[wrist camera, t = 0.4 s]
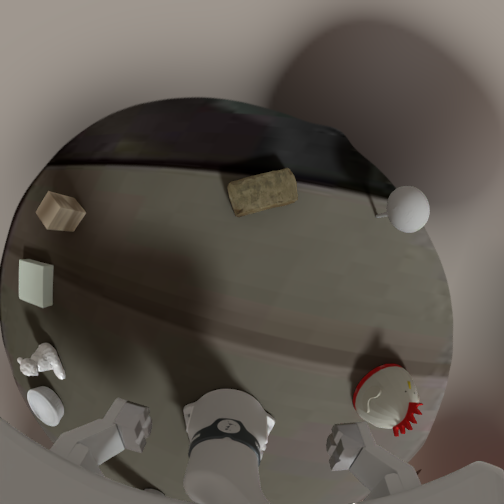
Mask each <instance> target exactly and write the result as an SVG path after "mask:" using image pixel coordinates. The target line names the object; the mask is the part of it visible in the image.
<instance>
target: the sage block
mask: <svg viewBox="0 0 504 504" xmlns="http://www.w3.org/2000/svg"><path fill="white" fill-rule="evenodd" d="M53 267H54V265H50V264H46V263H42V262H39V261H35V260H31V259H22V260H19V299H22V300H24V301H26V302H29V303H31V304H34V305H36V306H39V307H42V308H45V307H48V306H51V305H53Z"/></svg>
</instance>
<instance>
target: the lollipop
mask: <svg viewBox="0 0 504 504" xmlns="http://www.w3.org/2000/svg"><path fill="white" fill-rule="evenodd" d="M429 210H430V209H429V203H428V200H427V198H426V196H425V195H424V194H423V193H422V192H421V191H420V190H419V189H417V188H415V187H412V186H402V187H400V188H397V189H396V190H394V191H393V192H392V193H391V195H390V197H389V199H388V202H387V212H385V213H381V214H377V215H376V218H380V217H385V216H388V218H389V220H390V222H391V223H392V224H393V226H394V227H396V228H397V229H398V230H400V231H403V232H407V233H410V232H415V231H418V230H419V229H421V228H422V227H423V226H424V225H425V224H426V222H427V220H428V218H429V213H430V211H429Z"/></svg>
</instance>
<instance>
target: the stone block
mask: <svg viewBox="0 0 504 504" xmlns="http://www.w3.org/2000/svg"><path fill="white" fill-rule="evenodd" d="M227 190H228V195H229V198H230V202H231V205H232V207H233V210H234V213H235V216H236V217H241V216H245V215H248V214H252V213H256V212H260V211H263V210H267V209H271V208H275V207H280V206H285V205H288V204H291V203H294V202H295V201H296V200H298V194H297V183H296V179H295V177H294V175H293V173H292V172H291V171H290V169H288V168H285V169H282V170H278V171H271V172H267V173H263V174H258V175H254V176H250V177H246V178H243V179H240V180H236V181H232V182H230V183H229V184H228V185H227Z"/></svg>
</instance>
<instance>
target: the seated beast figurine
mask: <svg viewBox="0 0 504 504" xmlns="http://www.w3.org/2000/svg"><path fill="white" fill-rule="evenodd" d="M17 361H18V362H19V364H20V369H21V372H23V374H24V375H27V376H31V375H32V376H38V372H39V371H40V372H43V371H46V370H53V369H54V373H55V374H56V376H57V377H58V378H59V379H64V378H65V370H64V369H63V366H62V364H61V361H60V359H59V357H58V354H57V351H56V350H55V348H54V347H53V346H52V345H50V344H49V343H42V344H41V345H39V347H38V349H37V350H36V352H34V353H33V355H32V357H31V359H29V358H25V359H24V360H23V359H22V358H21V357H20V358H17Z"/></svg>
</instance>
